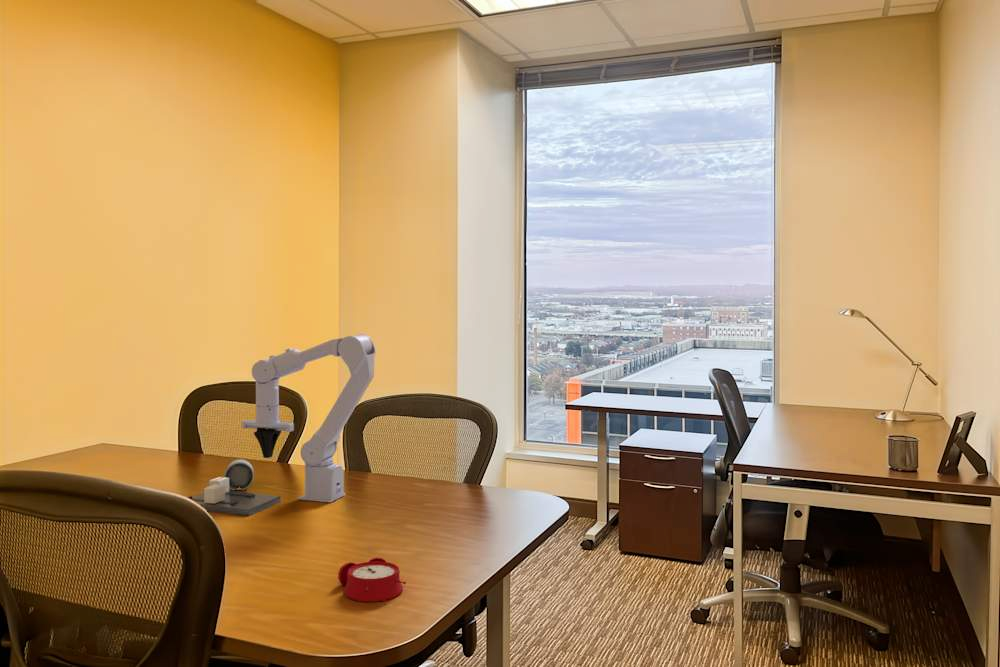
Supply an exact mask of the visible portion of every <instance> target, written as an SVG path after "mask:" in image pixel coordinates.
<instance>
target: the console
mask: <svg viewBox="0 0 1000 667" xmlns="http://www.w3.org/2000/svg"><path fill="white" fill-rule="evenodd" d="M187 497H188V498H190V499H192V500H194V501H195V502H197V503H199V504H200V505H201V506H202V507H204V508H205V509H206V510H207V511H206V512H212V513H219V512H221V513H223V514H228V513H230V514H229V515H237V514H239V516H246V515H250V516H252V515H254V514H257V513H259V512H261V511H263V510H265V508H266V509H268V508H270V507H271V505H272V506H274V504H275V505H277V504H279V503H281V495H276V494H275V495H273V494H265V493H254V492H245V491H244V492H243V491H234V490H229V492H226V493H225V500H223V501H220V502H218V503H215V504H213V503H204V492H202V493H199V494H198V495H194V496H192V495H190V496H187ZM278 502H279V503H278ZM276 503H277V504H276ZM267 507H268V508H267ZM260 510H261V511H260ZM258 511H259V512H258ZM221 513H220V514H221ZM251 514H252V515H251Z"/></svg>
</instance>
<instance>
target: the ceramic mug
mask: <svg viewBox="0 0 1000 667" xmlns="http://www.w3.org/2000/svg"><path fill="white" fill-rule="evenodd" d="M223 477H226V478H229V490H230V491H234V490H242V491H244V490H247V489H248V488H249V487H250V486H252V484H253V482H254V478H255V471H254V467H253V466H252V464H251V463H250V462H249V461H248V460H245V459H235V460H233V461H231V462H230V463H229V464H228V465H227V467H226V469H225V471H224V474H223ZM239 487H240V488H241V489H237V488H239Z"/></svg>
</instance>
